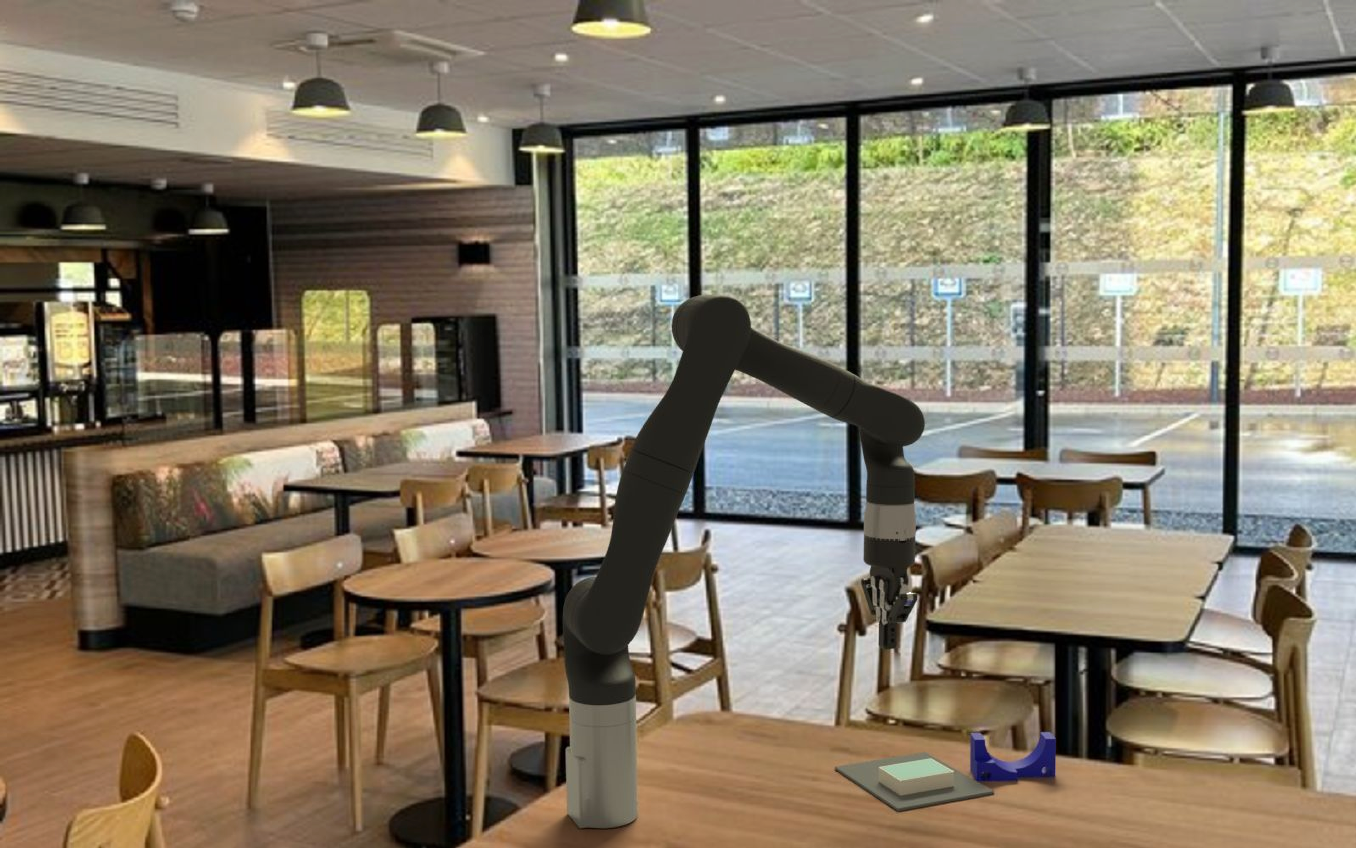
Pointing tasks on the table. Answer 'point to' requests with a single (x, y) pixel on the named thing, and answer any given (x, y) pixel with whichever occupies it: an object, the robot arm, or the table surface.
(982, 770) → the blue u-shaped bracket
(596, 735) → the robot arm
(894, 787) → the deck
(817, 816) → the table surface
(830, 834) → the table surface
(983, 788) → the mat
